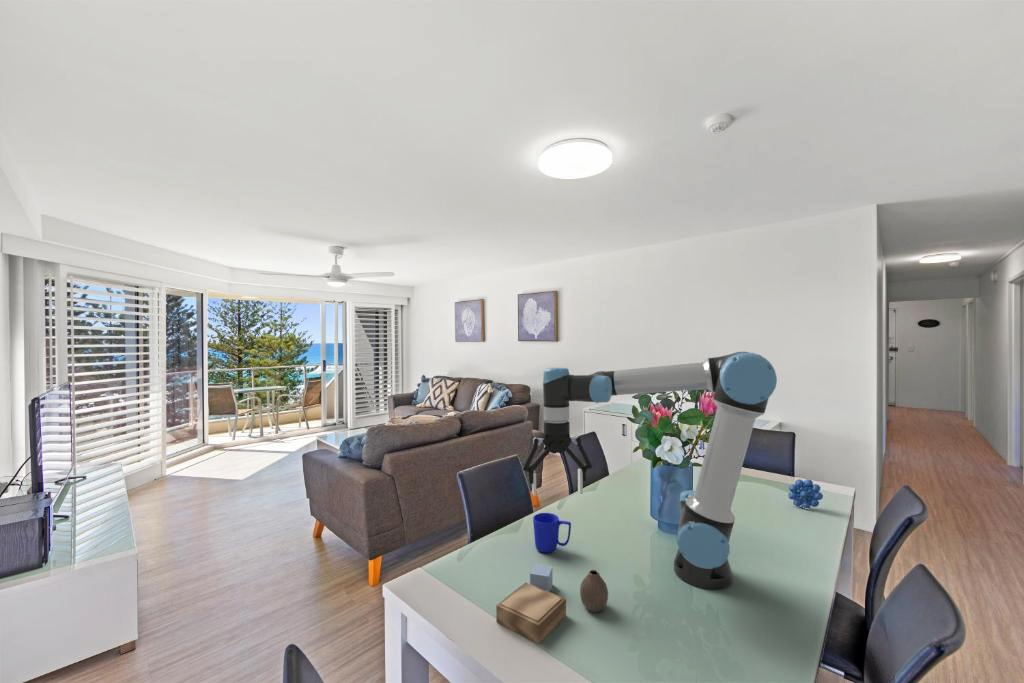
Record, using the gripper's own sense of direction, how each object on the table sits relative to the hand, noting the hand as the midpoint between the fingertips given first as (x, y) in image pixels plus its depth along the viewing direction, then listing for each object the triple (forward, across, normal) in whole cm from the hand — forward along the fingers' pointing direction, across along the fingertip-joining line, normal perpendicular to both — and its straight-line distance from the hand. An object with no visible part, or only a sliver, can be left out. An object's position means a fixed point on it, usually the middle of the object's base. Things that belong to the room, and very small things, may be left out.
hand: (557, 493), depth 125 cm
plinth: (+22, +11, +22) cm, 33 cm away
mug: (+22, 0, -12) cm, 25 cm away
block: (+22, +6, +9) cm, 25 cm away
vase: (+22, -5, +18) cm, 30 cm away
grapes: (+23, -106, -35) cm, 114 cm away
